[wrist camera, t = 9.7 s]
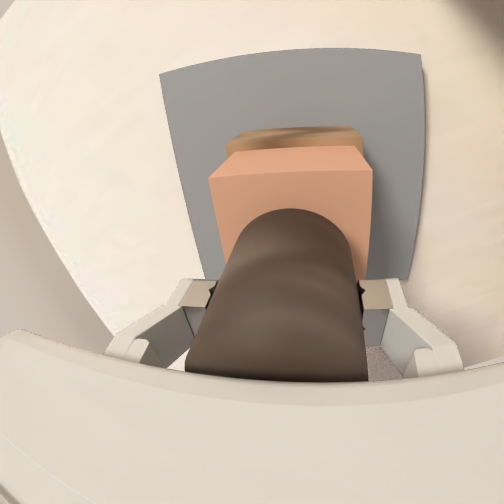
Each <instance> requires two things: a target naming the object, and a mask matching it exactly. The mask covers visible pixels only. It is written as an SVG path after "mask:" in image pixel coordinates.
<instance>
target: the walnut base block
mask: <svg viewBox="0 0 504 504" xmlns="http://www.w3.org/2000/svg"><path fill="white" fill-rule="evenodd" d="M312 146H355V147H356V148H357V150H358V151H359V152H360V154H361V155H362V156H363V137H362V136H361V135H360V134H359V133H358V132H357V131H356V130H354V129H353V128H352V127H351V126H314V127H293V128H278V129H266V130H255V131H245V132H242V133H241V134H239V135H238V136H237V137H235V138H234V139H233V140H231V141H230V142H229V143H227V144H226V151H227V157H228V158H229V157H230V156H231V155H232V154H233V153H234V152H239V151H250V150H261V149H274V148H290V147H312Z"/></svg>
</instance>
